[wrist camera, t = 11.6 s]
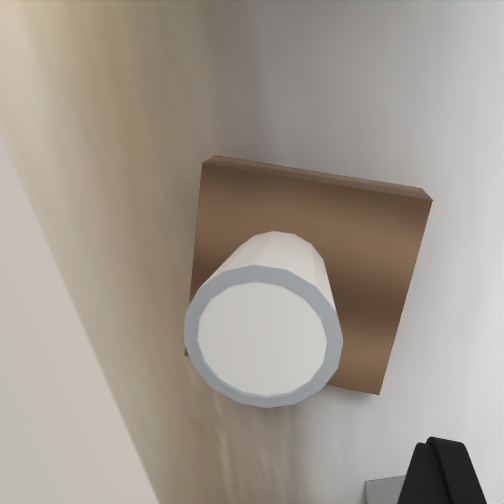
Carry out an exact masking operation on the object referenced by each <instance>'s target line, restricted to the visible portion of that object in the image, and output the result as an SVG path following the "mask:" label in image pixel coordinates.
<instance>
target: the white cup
mask: <svg viewBox="0 0 504 504" xmlns="http://www.w3.org/2000/svg"><path fill="white" fill-rule="evenodd" d="M183 341H184V344H185V347H186V349H187V352H188V355H189V357H190V360H191V363H192V366H193V367H194V368H195V370H196V371H197V372H198V373H199V374H200V375H201V376H202V377H203V379H204V380H205V381H206V382H207V383H208V384H209V385H210V387H211V388H213V389H214V390H216V391H218V392H220V393H221V394H223V395H225V396H227V397H229V398H230V399H232V400H234V401H236V402H237V403H242V404H247V405H252V406H258V407H263V408H273V407H280V406H287V405H294V404H297V403H299V402H301V401H303V400H305V399H306V398H308V397H310V396H312V395H314V394H315V393H317V392H319V391H321V390H322V388H323V387H324V386H325V385H326V383H327V382H328V381H329V379H330V378H331V377H332V375H333V374H334V373H335V371H336V370H337V369H338V365H339V360H340V355H341V350H342V346H343V336H342V332H341V328H340V324H339V320H338V316H337V312H336V308H335V304H334V300H333V296H332V292H331V288H330V284H329V280H328V276H327V272H326V268H325V264H324V260H323V258H322V257H321V256H320V255H319V253H318V252H317V251H316V249H315V248H314V247H313V246H312V244H310V243H309V242H307V241H305V240H303V239H302V238H300V237H298V236H297V235H295V234H291V233H284V232H278V231H271V232H267V233H263V234H259V235H255V236H253V237H252V238H250V239H249V240H248V241H246V242H245V243H244V244H242V245H241V246H240V247H239V248H238V249H237V250H236V251H235V252H234V253H233V254H232V255H231V256H230V257H229V258H228V259H227V260H226V261H225V262H224V263H223V264H222V265H221V266H220V267H219V268H218V269H217V270H216V271H215V272H214V273H213V274H212V275H211V277H210V278H209V279H208V280H207V281H206V282H205V283H204V284H203V285H202V286H201V287H200V288H199V289H198V291H197V293H196V294H195V296H194V298H193V300H192V302H191V303H190V305H189V307H188V309H187V310H186V312H185V321H184V337H183Z"/></svg>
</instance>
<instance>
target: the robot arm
mask: <svg viewBox="0 0 504 504" xmlns="http://www.w3.org/2000/svg"><path fill="white" fill-rule="evenodd" d="M397 504H487V502H486V500H485V497H484V494H483V492H482V489H481V486H480V484H479V481H478V478H477V476H476V473H475V470H474V468H473V465H472V462H471V460H470V457H469V454H468V452H467V449H466V447H465V445H464V444H463V443H461V442H456V441H451V440H446V439H441V438H436V437H429V438H428V439H427V441H426V444H425V443H417V444H416V447H415V449H414V453H413V456H412V459H411V462H410V465H409V468H408V471H407V474H406V477H405V480H404V483H403V486H402V489H401V492H400V495H399V498H398V502H397Z"/></svg>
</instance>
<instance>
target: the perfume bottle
mask: <svg viewBox="0 0 504 504" xmlns="http://www.w3.org/2000/svg"><path fill="white" fill-rule="evenodd" d="M405 477H406V475H405V476H399V477H392V478H385V479H378V480H371V481H365V486H366V496H367V504H397V502H398V498H399V495H400V492H401V489H402V486H403V483H404V480H405Z"/></svg>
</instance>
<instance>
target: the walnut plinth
mask: <svg viewBox="0 0 504 504" xmlns="http://www.w3.org/2000/svg"><path fill="white" fill-rule="evenodd" d="M432 201H433V200H432V199H431V198H430V197H429V196H428V195H427V194H426V193H425V191H424V190H423V189H422V188H416V187H410V186H404V185H397V184H391V183H385V182H378V181H372V180H366V179H359V178H353V177H347V176H340V175H334V174H328V173H321V172H315V171H308V170H302V169H296V168H289V167H283V166H277V165H270V164H264V163H258V162H251V161H245V160H239V159H232V158H226V157H220V156H214V157H212V158H211V159H209V160H207V161H205V162H203V163H202V173H201V183H200V194H199V205H198V216H197V227H196V237H195V248H194V259H193V270H192V280H191V291H190V302H189V305H190V303H191V302H192V300H193V298H194V296H195V294H196V293H197V291H198V289H199V288H200V287H201V286H202V285H203V284H204V283H205V282H206V281H207V280H208V279H209V278H210V277H211V275H212V274H213V273H214V272H215V271H216V270H217V269H218V268H219V267H220V266H221V265H222V264H223V263H224V262H225V261H226V260H227V259H228V258H229V257H230V256H231V255H232V254H233V253H234V252H235V251H236V250H237V249H238V248H239V247H240V246H241V245H242V244H244V243H245V242H246V241H248V240H249V239H250V238H252V237H253V236H255V235H259V234H263V233H267V232H271V231H278V232H284V233H291V234H295V235H297V236H298V237H300V238H302V239H303V240H305V241H307V242H309V243H310V244H312V246H313V247H314V248H315V249H316V251H317V252H318V253H319V255H320V256H321V257H322V258H323V260H324V264H325V268H326V272H327V276H328V280H329V284H330V288H331V292H332V296H333V300H334V304H335V308H336V312H337V316H338V320H339V324H340V328H341V332H342V336H343V346H342V350H341V355H340V360H339V365H338V369H337V370H336V371H335V373H334V374H333V375H332V377H331V378H330V379H329V381H328V382H327V383H326V384H327V385H332V386H336V387H341V388H346V389H351V390H356V391H361V392H366V393H371V394H376V395H379V393H380V390H381V386H382V383H383V379H384V375H385V372H386V368H387V364H388V361H389V357H390V353H391V350H392V346H393V343H394V339H395V335H396V332H397V328H398V324H399V321H400V317H401V314H402V310H403V306H404V303H405V299H406V295H407V292H408V288H409V284H410V281H411V277H412V274H413V270H414V266H415V263H416V259H417V255H418V252H419V248H420V245H421V241H422V237H423V234H424V230H425V226H426V223H427V219H428V215H429V212H430V208H431V205H432ZM185 356H189V355H188V352H187V349H186V347H185Z"/></svg>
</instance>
